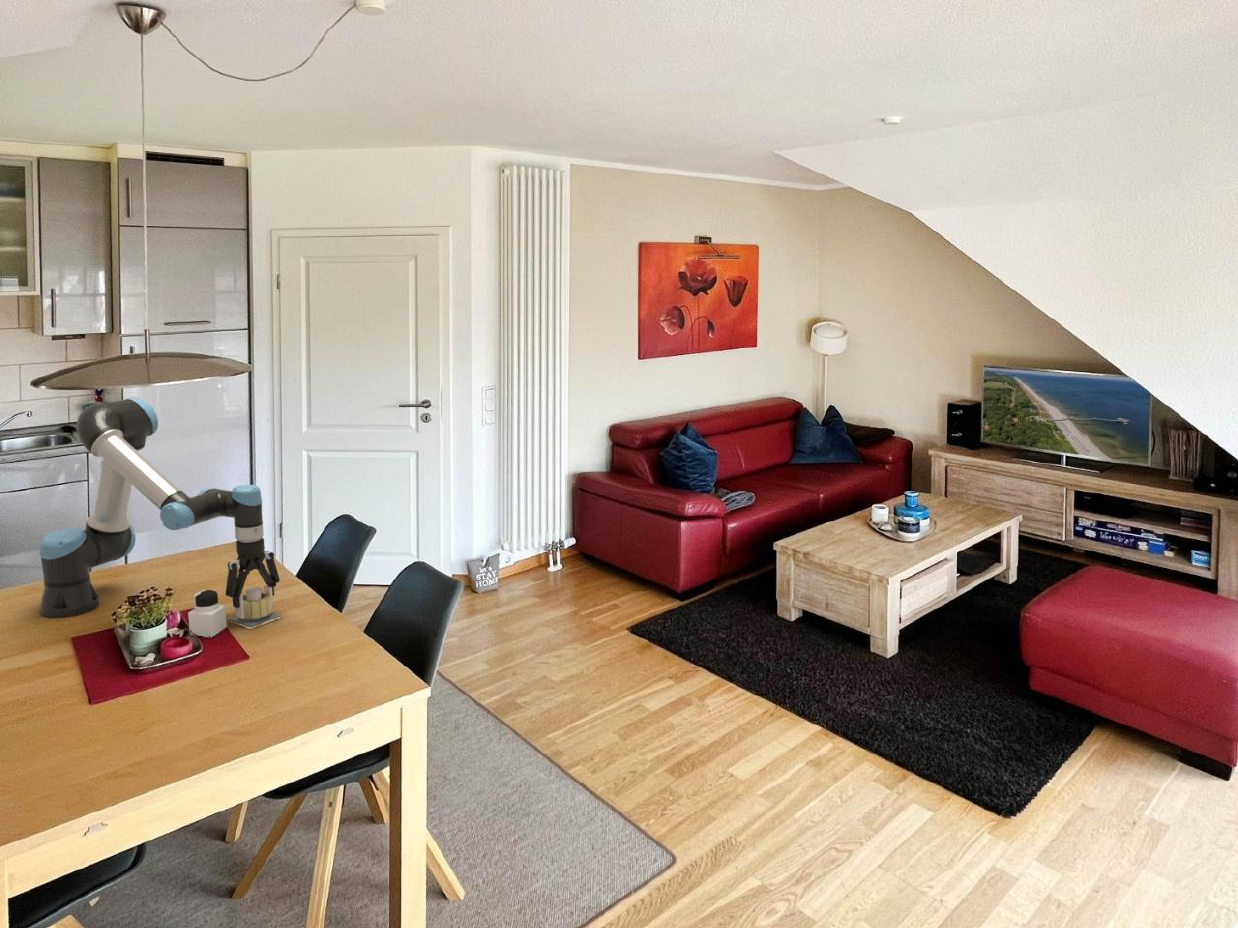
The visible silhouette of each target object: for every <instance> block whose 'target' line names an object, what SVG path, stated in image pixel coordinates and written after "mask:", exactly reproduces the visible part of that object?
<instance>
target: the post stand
mask: <svg viewBox="0 0 1238 928" xmlns="http://www.w3.org/2000/svg"><path fill="white" fill-rule="evenodd" d="M261 591H262V588H261V587H259V586H253V587H249V588H247V589H246V590H245V593H246V597H247V601H255V600H260V599H261ZM280 616H281V617H282V615H280V614H277V613H274V612H271V613H270V614H269V615H267V616H264V617H261V618H255V619H244V618H243V619H241V618H238V617H236V615H235V616H232V617H230V618H229V622H230V621H232V622H235V623H238V624H242V625H245V626H247V627H251V628H252V627H254V626H257V625H260V624H262V623H264V622H266V621H269V620H271V619H275V618H278V617H280ZM232 622H231V623H232ZM235 623H234V624H235ZM238 624H237V625H238Z"/></svg>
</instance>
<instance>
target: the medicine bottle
mask: <svg viewBox="0 0 1238 928" xmlns="http://www.w3.org/2000/svg"><path fill="white" fill-rule="evenodd" d="M193 601H194V608H193V609H192V610H191V611H189V612H188V613H187V615H188V626H189V631H190V630H191V631H192V632H193V633H195V634H196V635H198V636H203V637H202V638H212V637H213V636H215V635H216V634H218V633H219V632H220V631H222V630H223V629H225V628H226V627H227V628H228V626H227V613H226V605H225V604H219V596H218V591H216V590H212V589H204V590H201V591H198V592H196V593H195V594H194V595H193ZM227 628H226V629H227ZM226 629H225V630H226ZM223 631H224V630H223ZM223 631H222V632H223ZM219 634H220V633H219ZM219 634H218V635H219ZM209 636H210V637H209ZM216 636H217V635H216ZM216 636H215V637H216Z"/></svg>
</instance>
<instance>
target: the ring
mask: <svg viewBox="0 0 1238 928" xmlns="http://www.w3.org/2000/svg"><path fill="white" fill-rule="evenodd" d="M240 596H242V597H243V606H244V619H255V618H261V617H264V616H267V615H269V614H270V613H271V612H272V608H271V596H270V593H267V592H264V590H263V591H262V590H261V599H260V600H255V601H247V597H246V592H245V593H241V595H240ZM272 613H273V612H272Z"/></svg>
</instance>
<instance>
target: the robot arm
mask: <svg viewBox="0 0 1238 928" xmlns="http://www.w3.org/2000/svg"><path fill="white" fill-rule="evenodd" d="M158 428H159V419H158V415H157V413H156V411H155V410H154V407H152V405H151V404H150V403H149V402H147V400H144V399H140V398H132V399H131V398H126V399H124V400H123V399H121V400H116V401H109V402H103V403H101V402H100V403H95V404H92V405H89V406H88V407H86V408H85V409H84V410H82V411H81V413H80V415H78V417H77V421H76V434H77V436H78V438H79V439H78V440H80V442H81V444H82V446H84V448H85V449H86V450H87V451H88V453H90V454H92V456H94V457H97V458H102V459H103V460H102V466H101V472H100V479H99V481H98V482H99V483H98V487H97V488H98V489H97V495H96V500H95V506H94V511H93V514H91V515H90V516H87V519H86V524H85V528H84V529H82V528H79V527H70V528H69V527H68V528H65V529H58V530H55V531H53V532H50V533H48V534H46V535H45V536H44V537H42V539H41V540H40V543H39V548H40V549H39V556H40V560H41V566H42V567H41V568H42V576H43V583H44V584H43V585H44V587H43V588H44V589H43V591H42V596H41V599H40V603H39V610H40V615H42V616H44V617H48V618H66V617H73V616H79V615H83V614H86V613H89V612H91V611H94V610H95V609H97V608H98V607H99V606H100V603H101V602H100V597H99V594H98V592H97V590H96V589H95V587H94V584H93V583H92V581H91V576H90V569H91V568H94V567H98V566H101V565H104V564H106V563H110V562H113V561H117V560H119V559H121V558H123V557H125V556H128V555H129V554H130V553H131V552H132V550H133V549H134V547H135V545H136V538H137V537H136V534H135V533H134V532H135V529H134V528H133V526H132V525H131V521H130V520H129V519H128V518H126V517H127V512H128V508H129V507H128V506H129V501H130V496H131V491H132V486H133V487H134V488H135V489H137V491H138V492H140V493H141V494H142V495H143V496H144V497H145V498H146V499H147V500H149V502H151V503H152V504H153V505H154V506H156V508H157V509H159V510H160V512H159V519H160V521H162V525H163V526H164V527H165V528H166V529H168V530H171V531H177V530H178V531H179V530H183V529H188V528H189V527H192V526H195V525H198V524H200V523H203V522H207V521H209V520H213V519H215V518H219V517H225V518H233V519H234V533H235V535H234V536H235V540H236V541H235V546H236V553H237V558H236V560H235V561H228V562H227V568H228V571H227V572H228V574H227V578H226V579H227V580H226V586H225V587H226V588H225V596H226V597H230V598H232V606H233V608H234V609H235V616H236V617H238V618H241V619H243V618H244V606H243V597H242V596H240V595H241V594H242V592H243V589H244V585H245V583H246V580H247V577H248V576H249V574H250V572H252V571H254V570H257V571H258V573H259V575H260V576H261V578H262V580H263V581H264V583H265V585H263V591H264V592H267V593H270V596H271V609H274V601H273V599H274V596H275V587H276V586H277V583H279V582H281V581H280V576H279V573H278V569H277V566H276V562H275V553H274V552H272V551H269V550H266V551H265V548H266V547H265V539H264V536H265V535H264V534H265V533H264V520H263V498H262V494H261V493H262V491H261V488H260V487H259V486H258V485H256V484H241V485H240V484H239V485H237V486H235V487H233V488H232V490H226V489H219V488H215V487H214V488H204V489H202V490H201V491H200V492H198V494H197V495H195V496H192V497H190V496H188V495H187V494H186V493H185V492H183V490H182V489H181V488H179V487H178V486H177V485H176V484H175V483H174V482H173V481H171V480H170V479H169V478H168V477H167V476H166V475H165V474H164V473H163V472H161V471H160V470H159V469H158V468H157V467H156V466H154V464H153V463H151V461H150V460H148V459H147V458H146V457H145V456H144V455H143V454H141V453H140V452H139V451H142V450H143V449H144V448H145V447H146V442H147V437H150V436H152V435H154V434H155V433H156V432H157V430H158ZM264 561H265V564H266V565H265V564H264ZM266 567H267V568H266Z"/></svg>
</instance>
